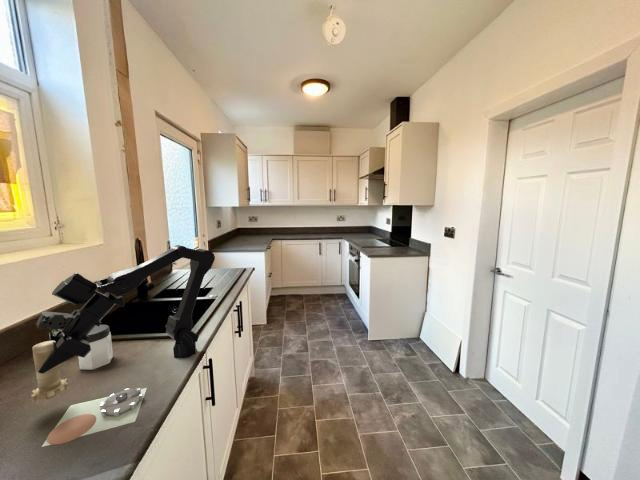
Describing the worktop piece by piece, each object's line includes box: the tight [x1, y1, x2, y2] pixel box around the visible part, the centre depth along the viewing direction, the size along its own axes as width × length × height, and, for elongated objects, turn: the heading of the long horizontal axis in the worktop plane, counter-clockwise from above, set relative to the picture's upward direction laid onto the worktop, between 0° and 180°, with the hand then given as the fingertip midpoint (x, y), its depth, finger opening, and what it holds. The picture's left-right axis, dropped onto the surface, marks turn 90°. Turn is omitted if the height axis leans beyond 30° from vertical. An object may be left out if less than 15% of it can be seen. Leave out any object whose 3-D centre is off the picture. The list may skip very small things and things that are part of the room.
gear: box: [100, 387, 144, 418], centre depth 68 cm, size 9×9×2 cm
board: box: [41, 387, 148, 448], centre depth 65 cm, size 17×14×1 cm
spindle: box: [30, 340, 70, 403], centre depth 65 cm, size 7×7×13 cm
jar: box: [77, 324, 114, 371], centre depth 88 cm, size 9×8×12 cm
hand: (39, 369), depth 64 cm, fingers closed on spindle, 4 cm apart
